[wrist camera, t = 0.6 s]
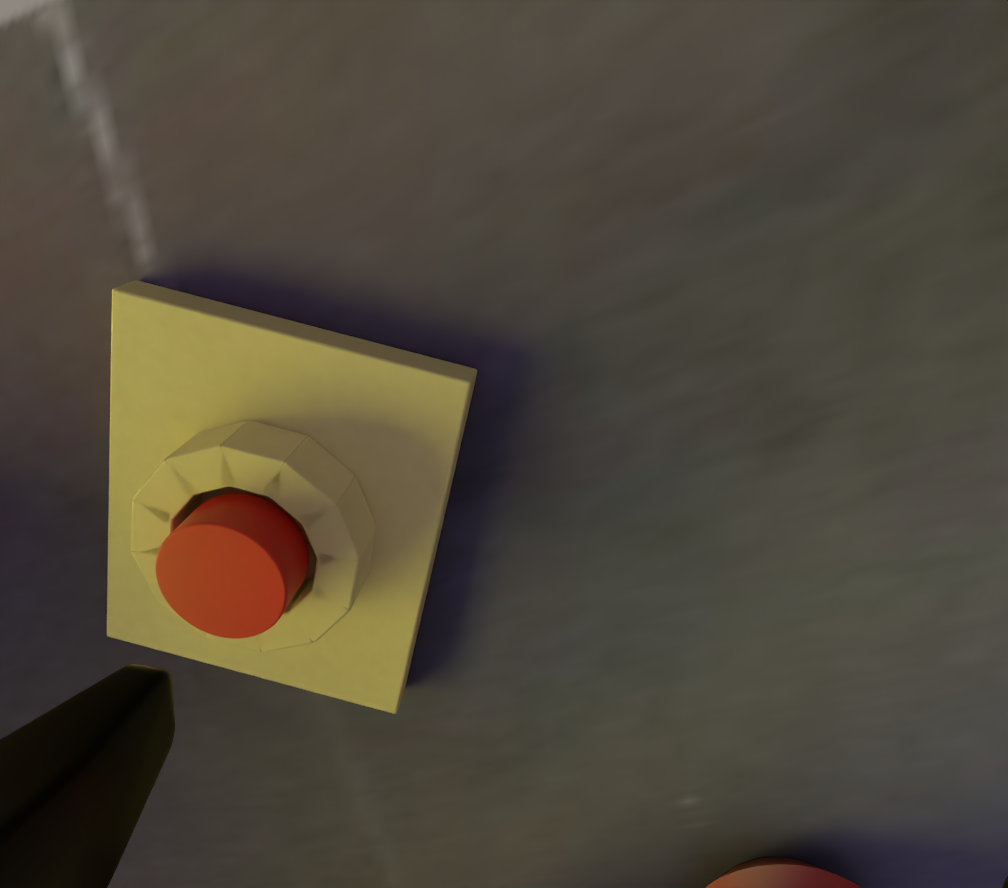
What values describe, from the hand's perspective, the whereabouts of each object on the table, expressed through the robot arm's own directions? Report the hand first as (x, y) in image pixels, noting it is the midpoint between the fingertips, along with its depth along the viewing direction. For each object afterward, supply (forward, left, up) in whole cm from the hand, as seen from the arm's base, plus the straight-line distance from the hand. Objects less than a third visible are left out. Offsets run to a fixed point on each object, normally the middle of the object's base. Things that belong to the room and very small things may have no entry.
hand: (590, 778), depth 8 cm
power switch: (-7, +8, -15) cm, 18 cm away
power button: (-7, +8, -12) cm, 16 cm away
